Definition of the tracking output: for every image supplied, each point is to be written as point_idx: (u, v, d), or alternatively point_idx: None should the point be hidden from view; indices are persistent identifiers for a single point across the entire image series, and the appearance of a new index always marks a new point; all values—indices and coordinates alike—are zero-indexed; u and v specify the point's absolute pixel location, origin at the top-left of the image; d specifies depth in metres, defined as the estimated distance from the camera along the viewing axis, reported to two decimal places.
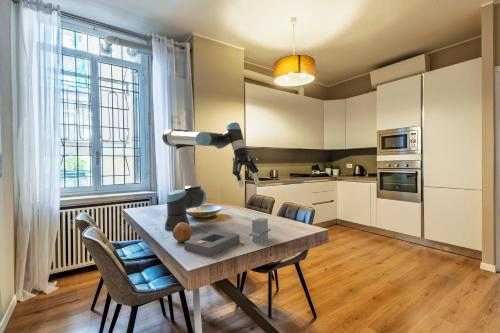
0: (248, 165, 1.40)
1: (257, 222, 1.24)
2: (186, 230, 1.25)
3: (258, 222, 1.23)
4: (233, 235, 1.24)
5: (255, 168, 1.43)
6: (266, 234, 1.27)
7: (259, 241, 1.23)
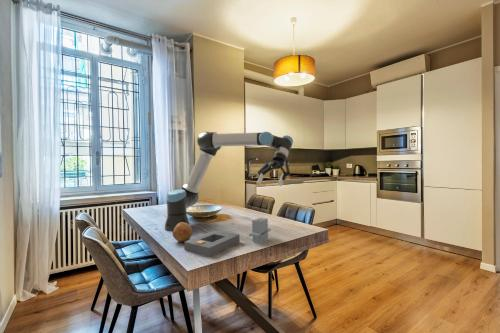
0: (270, 168, 1.43)
1: (257, 222, 1.24)
2: (186, 230, 1.25)
3: (258, 222, 1.23)
4: (233, 235, 1.24)
5: (262, 172, 1.45)
6: (266, 234, 1.27)
7: (259, 241, 1.23)
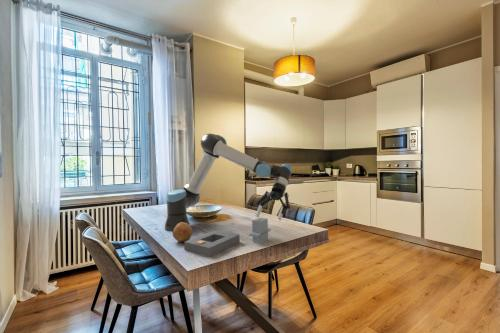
0: (269, 199, 1.40)
1: (257, 222, 1.24)
2: (186, 230, 1.25)
3: (258, 222, 1.23)
4: (233, 235, 1.24)
5: None
6: (266, 234, 1.27)
7: (259, 241, 1.23)
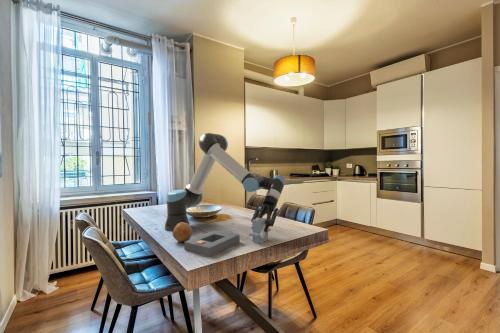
0: (262, 214, 1.32)
1: (257, 222, 1.24)
2: (186, 230, 1.25)
3: (258, 222, 1.23)
4: (233, 235, 1.24)
5: None
6: (266, 234, 1.27)
7: (259, 241, 1.23)
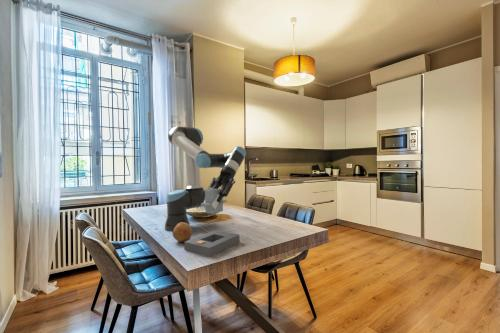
0: (218, 185, 1.25)
1: (209, 191, 1.17)
2: (186, 230, 1.25)
3: (210, 191, 1.16)
4: (233, 235, 1.24)
5: None
6: (220, 205, 1.21)
7: (211, 211, 1.17)
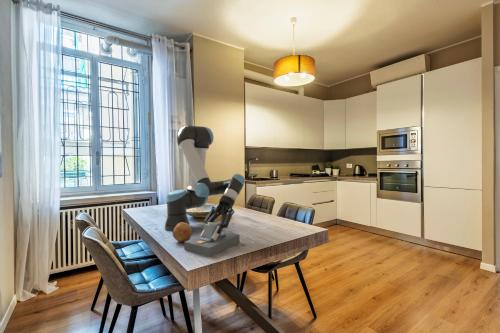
0: (216, 215, 1.26)
1: (208, 226, 1.17)
2: (186, 230, 1.25)
3: (209, 227, 1.17)
4: (233, 235, 1.24)
5: None
6: None
7: None
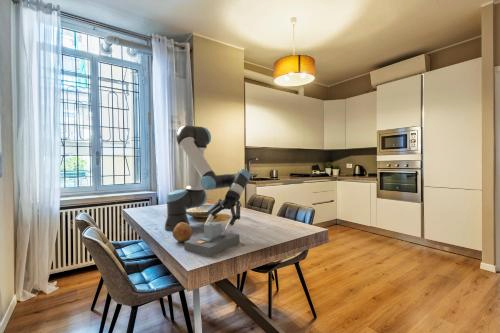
0: (221, 208, 1.30)
1: (208, 226, 1.17)
2: (186, 230, 1.25)
3: (209, 227, 1.17)
4: (233, 235, 1.24)
5: None
6: None
7: None
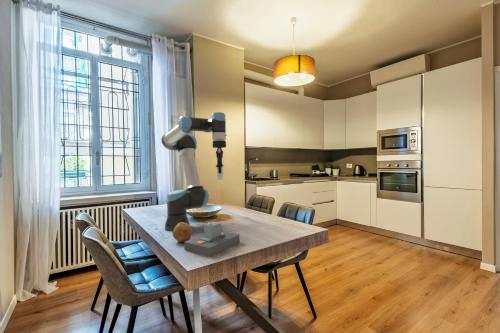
0: None
1: (208, 226, 1.17)
2: (186, 230, 1.25)
3: (209, 227, 1.17)
4: (233, 235, 1.24)
5: None
6: None
7: None
